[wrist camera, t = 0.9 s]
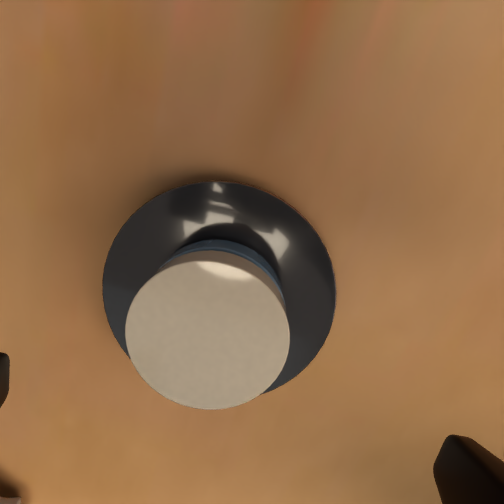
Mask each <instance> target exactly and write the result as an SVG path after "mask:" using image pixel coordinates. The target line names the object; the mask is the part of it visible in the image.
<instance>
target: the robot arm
mask: <svg viewBox="0 0 504 504" xmlns="http://www.w3.org/2000/svg"><path fill="white" fill-rule="evenodd" d="M9 367H10V360H9V356H8V355H7V354H5V353H1V352H0V407H1V406H2V404H3V403H4V401H5V399H6V397H7V395H8V391H9ZM433 472H434V478H435V481H436V485H437V488H438V491H439V494H440V497H441V500H442V504H504V462H503V461H501V460H500V459H499V458H497V457H496V456H495V455H493V454H492V453H491V452H489V451H488V450H486V449H485V448H484V447H482V446H481V445H480V444H478V443H477V442H476V441H474V440H473V439H471V438H469V437H464V436H459V435H449V436H448V437H446V439H445V441H444V443H443V445H442V447H441V449H440V452H439V454H438V456H437V458H436V460H435V463H434V467H433Z"/></svg>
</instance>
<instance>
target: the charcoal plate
mask: <svg viewBox="0 0 504 504" xmlns="http://www.w3.org/2000/svg"><path fill="white" fill-rule="evenodd" d="M204 240H227V241H231V242H236V243H239V244H241V245H244V246H246V247H248V248H250V249H252V250H254V251H255V252H256V253H258V254H259V255H261V256H262V257H263V258H264V259H265V260H266V261H267V262H268V263H269V264H270V266H271V267H272V268H273V270H274V271H275V273H276V274H277V276H278V278H279V281H280V283H281V286H282V290H283V294H284V300H285V307H286V312H287V318H288V324H289V331H290V345H289V352H288V356H287V359H286V362H285V364H284V366H283V369H282V371H281V372H280V374H279V375H278V377H277V378H276V380H275V381H274V382H273V383H272V384H271V386H270V387H268V388H267V389H266V390H265V391H264V392H263V393H261V394H264V393H266V392H269V391H272V390H274V389H276V388H278V387H280V386H282V385H283V384H285V383H287V382H288V381H290V380H291V379H292V378H294V377H295V376H297V375H298V374H299V373H300V372H301V371H302V370H303V369H305V368H306V367H307V366H308V364H309V363H310V362H311V361H312V360H313V359H314V358H315V356H316V355H317V353H318V352H319V350H320V349H321V347H322V346H323V344H324V342H325V340H326V338H327V336H328V334H329V331H330V328H331V325H332V322H333V319H334V313H335V308H336V282H335V275H334V271H333V267H332V263H331V260H330V257H329V255H328V253H327V250H326V248H325V246H324V244H323V243H322V241H321V239H320V237H319V236H318V234H317V233H316V231H315V230H314V229H313V227H312V226H311V225H310V224H309V222H308V221H307V220H306V219H305V218H304V217H303V216H302V215H301V214H300V213H299V212H298V211H297V210H296V209H295V208H294V207H292V206H291V205H289V204H288V203H287V202H285V201H284V200H283V199H281V198H279V197H277V196H276V195H274V194H272V193H270V192H268V191H266V190H263V189H260V188H258V187H255V186H252V185H248V184H244V183H240V182H233V181H224V180H215V181H201V182H195V183H190V184H186V185H183V186H180V187H177V188H174V189H171V190H169V191H167V192H165V193H162V194H160V195H158V196H156V197H155V198H153V199H152V200H150V201H149V202H147V203H146V204H144V205H143V206H142V207H141V208H139V209H138V210H137V211H136V212H135V213H134V214H133V215H132V216H131V217H130V218H129V219H128V220H127V222H126V223H125V224H124V225H123V226H122V228H121V229H120V231H119V233H118V234H117V236H116V237H115V239H114V241H113V243H112V246H111V248H110V250H109V252H108V256H107V259H106V263H105V266H104V274H103V301H104V308H105V312H106V315H107V319H108V322H109V325H110V327H111V329H112V332H113V334H114V336H115V338H116V339H117V341H118V343H119V344H120V346H121V348H122V349H123V350H124V352H125V353H126V354H127V356H128V357H129V358H130V356H129V353H128V349H127V345H126V338H125V325H126V318H127V314H128V311H129V308H130V305H131V303H132V301H133V299H134V297H135V296H136V294H137V293H138V291H139V290H140V289H141V288H142V286H143V285H144V284H145V283H146V282H147V281H148V280H149V279H150V278H151V277H152V276H153V274H154V273H155V272H156V271H157V270H158V269H159V268H160V267H161V266H162V265H163V264H164V262H165V261H166V260H167V259H168V258H169V257H170V256H171V255H173V254H174V253H175V252H176V251H178V250H180V249H181V248H183V247H185V246H187V245H190V244H192V243H195V242H199V241H204ZM130 359H131V358H130ZM261 394H260V395H261Z"/></svg>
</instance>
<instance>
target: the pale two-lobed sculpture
mask: <svg viewBox="0 0 504 504" xmlns="http://www.w3.org/2000/svg"><path fill="white" fill-rule="evenodd" d="M0 504H21V497H13V498H4V497H1V496H0Z"/></svg>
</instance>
